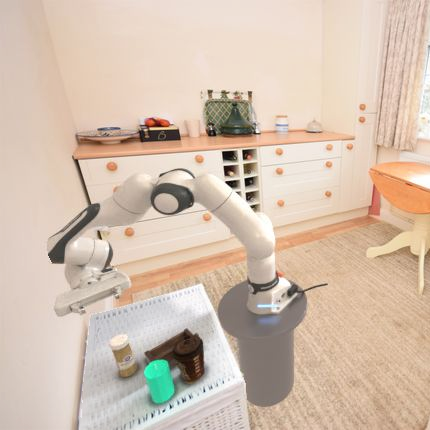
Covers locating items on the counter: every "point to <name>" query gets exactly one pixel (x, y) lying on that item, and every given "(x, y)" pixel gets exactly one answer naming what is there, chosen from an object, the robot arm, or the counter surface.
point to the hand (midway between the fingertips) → (101, 304)
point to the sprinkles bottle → (123, 355)
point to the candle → (159, 381)
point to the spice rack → (165, 346)
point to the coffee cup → (189, 357)
